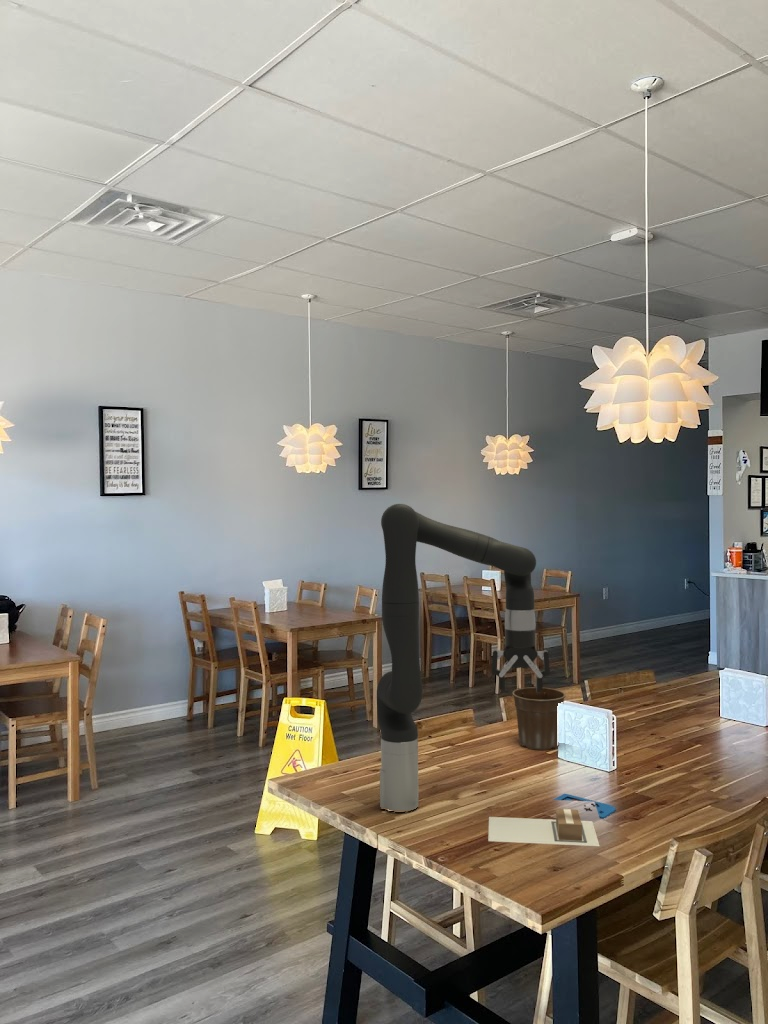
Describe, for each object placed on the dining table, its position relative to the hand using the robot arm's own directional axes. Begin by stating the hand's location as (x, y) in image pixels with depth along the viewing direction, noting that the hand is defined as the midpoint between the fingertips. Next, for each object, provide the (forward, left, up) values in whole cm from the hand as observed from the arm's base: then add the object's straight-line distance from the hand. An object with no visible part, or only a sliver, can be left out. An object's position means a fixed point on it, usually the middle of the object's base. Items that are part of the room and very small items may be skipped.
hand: (520, 691), depth 203 cm
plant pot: (+7, +51, -28) cm, 59 cm away
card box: (+10, -17, -28) cm, 34 cm away
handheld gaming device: (+15, 0, -29) cm, 32 cm away
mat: (+4, -17, -28) cm, 33 cm away
